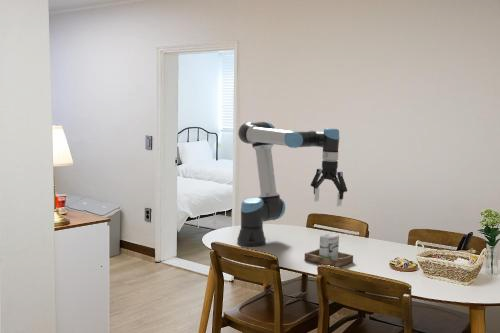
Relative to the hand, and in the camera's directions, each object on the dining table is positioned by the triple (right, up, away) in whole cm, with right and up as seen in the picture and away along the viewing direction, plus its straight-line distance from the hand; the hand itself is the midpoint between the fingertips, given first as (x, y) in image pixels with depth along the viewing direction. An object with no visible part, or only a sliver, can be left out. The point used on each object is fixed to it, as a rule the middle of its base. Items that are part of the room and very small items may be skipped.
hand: (327, 203), depth 258 cm
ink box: (-1, -26, -8) cm, 27 cm away
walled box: (-1, -27, -8) cm, 28 cm away
